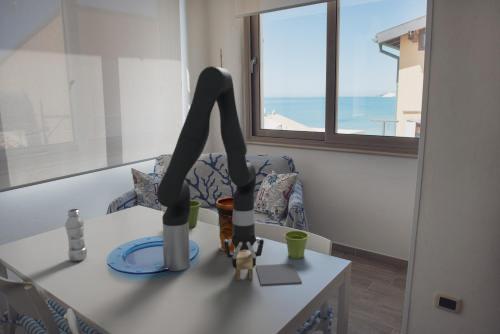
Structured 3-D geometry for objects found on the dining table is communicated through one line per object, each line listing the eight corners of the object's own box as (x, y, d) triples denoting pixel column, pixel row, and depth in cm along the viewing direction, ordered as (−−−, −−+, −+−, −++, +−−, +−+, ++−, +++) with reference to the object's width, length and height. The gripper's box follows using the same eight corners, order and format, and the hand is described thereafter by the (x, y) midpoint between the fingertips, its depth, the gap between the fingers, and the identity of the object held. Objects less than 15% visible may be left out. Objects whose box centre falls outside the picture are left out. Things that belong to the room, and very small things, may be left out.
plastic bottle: (91, 257, 148) (86, 208, 144) (76, 264, 142) (71, 214, 138) (79, 254, 150) (74, 206, 147) (64, 261, 144) (59, 211, 141)
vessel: (209, 250, 154) (209, 203, 150) (225, 238, 167) (224, 195, 164) (242, 256, 149) (242, 207, 145) (255, 243, 162) (255, 198, 158)
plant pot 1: (190, 231, 175) (189, 208, 173) (171, 226, 182) (170, 204, 179) (206, 224, 185) (205, 202, 183) (188, 220, 191) (187, 198, 189)
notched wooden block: (236, 280, 129) (236, 258, 127) (235, 273, 134) (235, 252, 133) (252, 279, 130) (252, 258, 128) (251, 272, 135) (250, 251, 133)
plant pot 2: (307, 261, 143) (307, 240, 142) (282, 259, 145) (283, 238, 144) (308, 251, 152) (309, 231, 151) (285, 249, 154) (285, 229, 153)
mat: (260, 285, 126) (260, 284, 125) (255, 266, 139) (255, 265, 139) (301, 283, 127) (301, 281, 127) (292, 264, 141) (292, 263, 141)
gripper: (222, 225, 124) (223, 273, 127) (266, 224, 125) (266, 271, 128) (222, 218, 131) (223, 263, 134) (262, 216, 132) (262, 261, 136)
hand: (244, 267), depth 131 cm, fingers closed on notched wooden block, 5 cm apart
